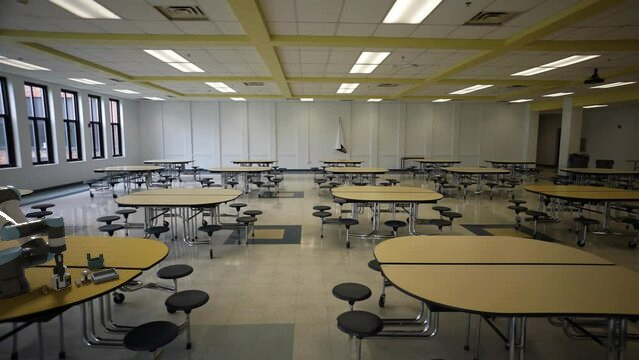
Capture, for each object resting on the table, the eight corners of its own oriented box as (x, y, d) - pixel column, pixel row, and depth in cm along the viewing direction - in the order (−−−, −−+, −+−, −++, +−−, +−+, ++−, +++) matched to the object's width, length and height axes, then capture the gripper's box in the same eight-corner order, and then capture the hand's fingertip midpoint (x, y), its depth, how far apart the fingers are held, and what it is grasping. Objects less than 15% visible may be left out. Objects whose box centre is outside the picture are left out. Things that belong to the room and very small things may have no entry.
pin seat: (43, 294, 178) (43, 292, 178) (42, 288, 186) (42, 285, 186) (80, 285, 189) (80, 283, 189) (78, 280, 196) (78, 277, 196)
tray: (94, 283, 192) (94, 279, 191) (91, 277, 201) (91, 273, 200) (119, 278, 200) (118, 274, 199) (114, 271, 209) (114, 268, 208)
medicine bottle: (57, 291, 183) (54, 270, 181) (51, 288, 186) (49, 267, 185) (72, 286, 188) (70, 265, 187) (66, 283, 192) (64, 263, 191)
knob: (82, 282, 193) (81, 273, 193) (80, 280, 197) (80, 271, 196) (91, 280, 196) (90, 271, 196) (90, 278, 200) (89, 269, 199)
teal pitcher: (104, 267, 216) (103, 254, 215) (86, 270, 211) (85, 256, 210) (104, 263, 223) (103, 250, 222) (87, 265, 219) (86, 252, 218)
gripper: (68, 247, 179) (72, 288, 182) (64, 238, 195) (67, 276, 197) (50, 250, 174) (54, 292, 177) (47, 241, 190) (51, 280, 193)
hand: (61, 284), depth 187 cm, fingers closed on medicine bottle, 8 cm apart
